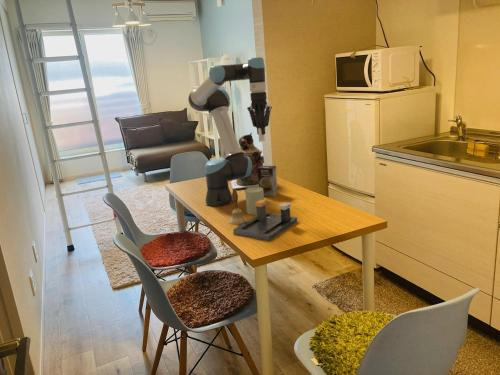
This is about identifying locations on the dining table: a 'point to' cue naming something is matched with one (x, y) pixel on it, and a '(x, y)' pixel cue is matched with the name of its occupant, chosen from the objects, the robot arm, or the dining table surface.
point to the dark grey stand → (267, 224)
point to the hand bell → (236, 211)
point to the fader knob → (261, 209)
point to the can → (253, 198)
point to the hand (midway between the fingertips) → (261, 141)
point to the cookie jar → (256, 160)
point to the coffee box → (267, 180)
